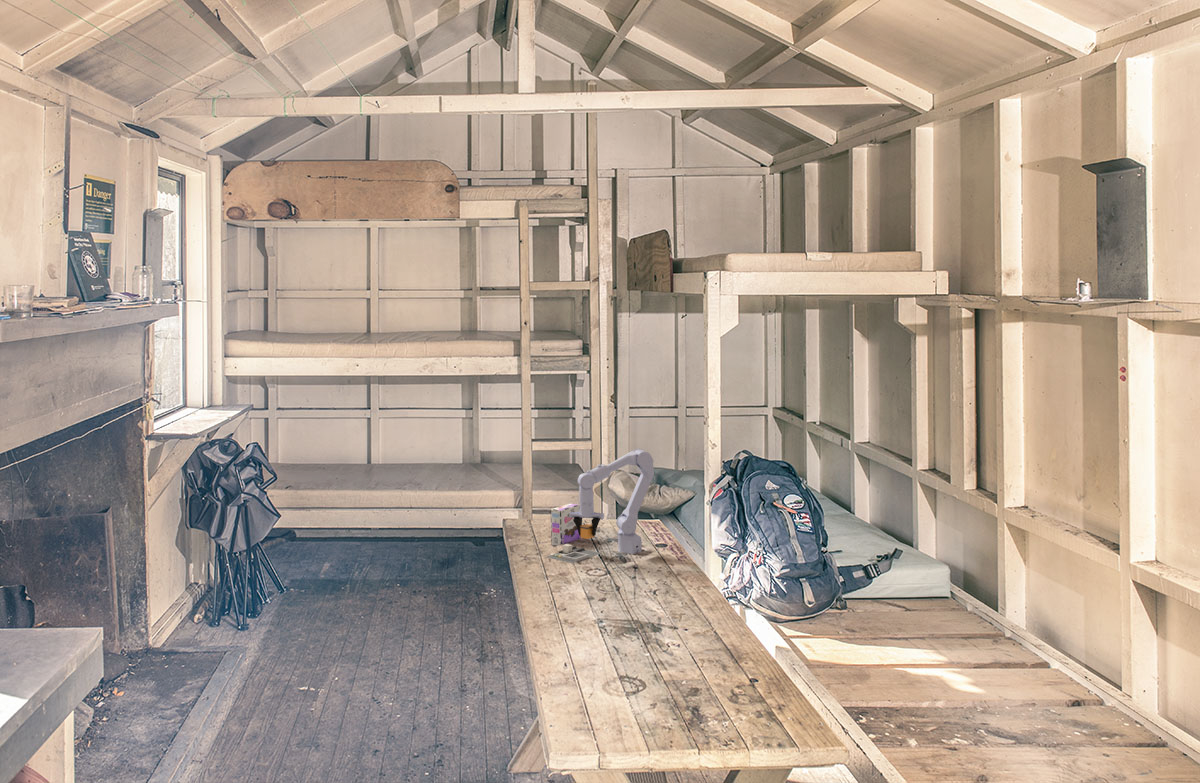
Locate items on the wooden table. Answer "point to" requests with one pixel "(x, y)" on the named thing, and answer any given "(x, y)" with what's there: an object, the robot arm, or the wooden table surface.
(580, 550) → the breaker panel
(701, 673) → the wooden table surface
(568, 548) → the switch
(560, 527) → the candy box
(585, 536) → the cap
